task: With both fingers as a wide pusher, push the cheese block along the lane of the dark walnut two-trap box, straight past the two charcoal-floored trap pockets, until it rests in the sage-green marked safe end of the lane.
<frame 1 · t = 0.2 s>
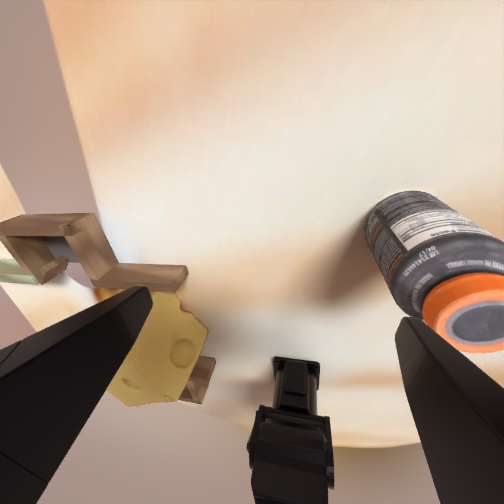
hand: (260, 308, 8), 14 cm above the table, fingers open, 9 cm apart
cheese: (167, 316, 34), on the table
trap box: (116, 312, 36), on the table
pill bottle: (400, 222, 20), on the table
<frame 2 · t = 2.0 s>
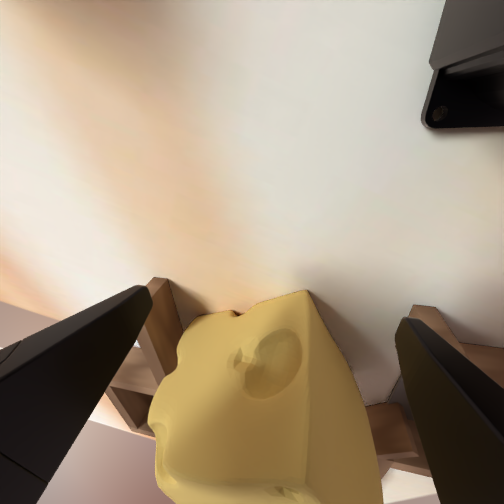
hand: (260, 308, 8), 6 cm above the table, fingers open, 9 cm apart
cheese: (276, 342, 19), on the table
trap box: (274, 401, 23), on the table
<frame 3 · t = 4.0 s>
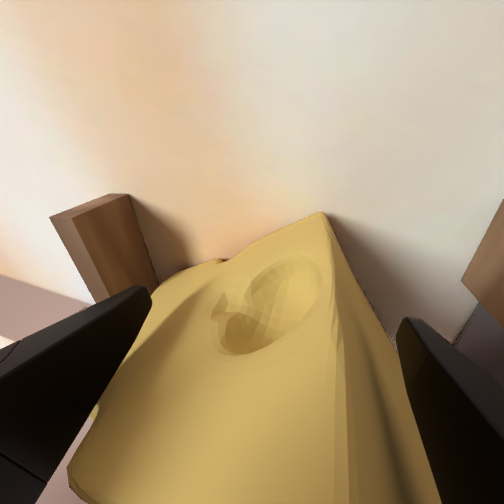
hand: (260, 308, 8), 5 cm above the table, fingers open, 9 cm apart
cheese: (282, 304, 14), on the table, touching gripper
trap box: (280, 379, 18), on the table
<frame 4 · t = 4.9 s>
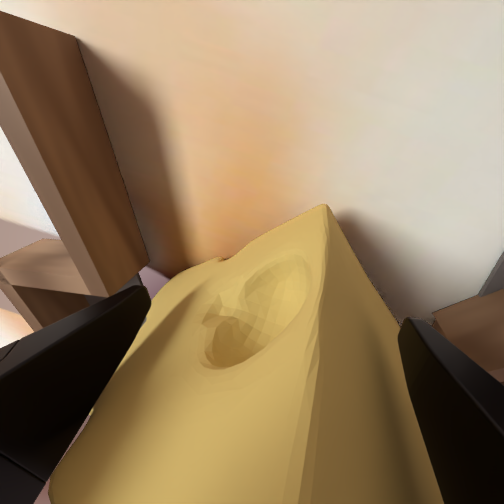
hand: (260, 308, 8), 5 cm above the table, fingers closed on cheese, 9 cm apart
cheese: (290, 303, 13), on the table, touching gripper
trap box: (278, 322, 15), on the table
when the fingers open (5 cm above the table, at t = 7.3 s): cheese stays where it is, on the table.
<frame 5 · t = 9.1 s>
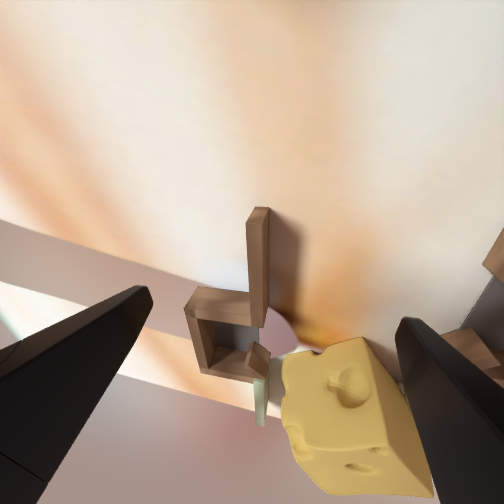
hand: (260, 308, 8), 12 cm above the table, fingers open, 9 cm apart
cheese: (341, 367, 28), on the table
trap box: (343, 339, 25), on the table
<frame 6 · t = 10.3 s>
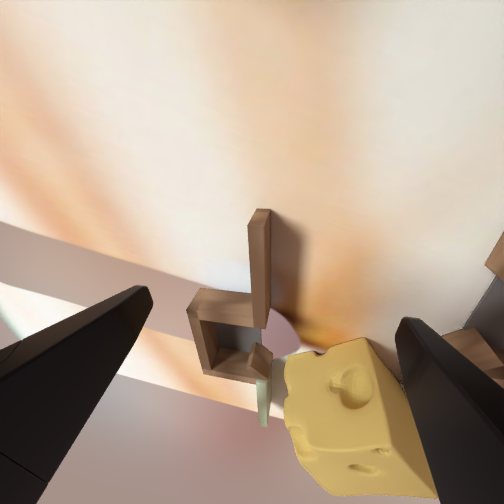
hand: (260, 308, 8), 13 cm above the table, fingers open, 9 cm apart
cheese: (344, 368, 28), on the table
trap box: (346, 339, 25), on the table
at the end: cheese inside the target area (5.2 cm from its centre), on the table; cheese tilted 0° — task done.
